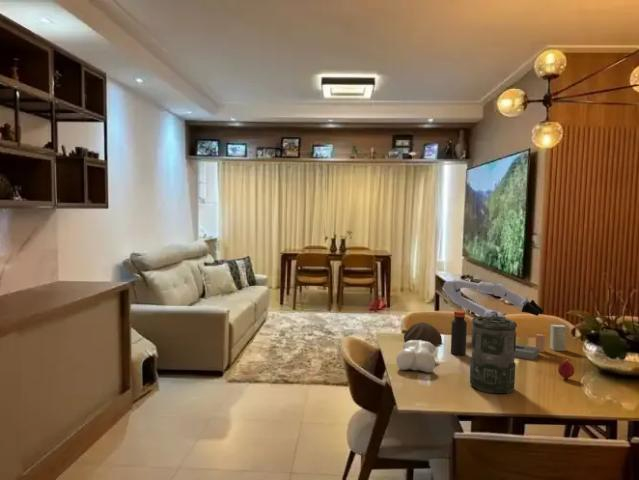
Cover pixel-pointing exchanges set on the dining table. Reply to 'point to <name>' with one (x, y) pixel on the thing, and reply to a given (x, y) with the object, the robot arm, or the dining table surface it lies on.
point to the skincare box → (558, 337)
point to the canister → (493, 354)
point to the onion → (566, 369)
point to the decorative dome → (423, 333)
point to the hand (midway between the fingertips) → (540, 313)
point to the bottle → (458, 334)
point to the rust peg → (540, 342)
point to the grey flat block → (526, 352)
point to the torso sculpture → (416, 356)
